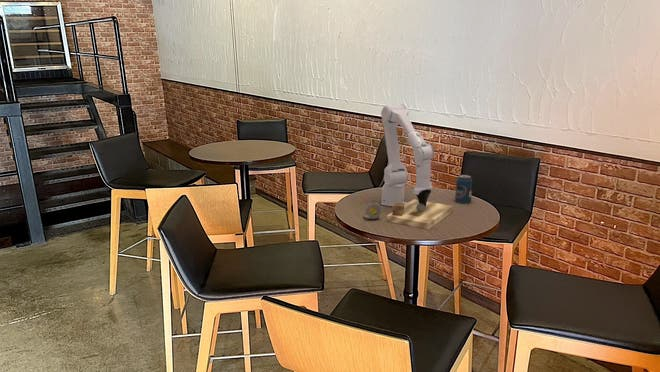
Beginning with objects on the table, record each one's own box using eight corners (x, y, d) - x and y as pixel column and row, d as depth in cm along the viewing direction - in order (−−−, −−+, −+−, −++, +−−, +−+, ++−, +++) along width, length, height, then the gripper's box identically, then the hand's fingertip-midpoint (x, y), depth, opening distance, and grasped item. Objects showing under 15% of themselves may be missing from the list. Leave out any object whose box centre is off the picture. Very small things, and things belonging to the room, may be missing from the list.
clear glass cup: (370, 213, 213) (370, 191, 210) (385, 218, 207) (386, 195, 204) (357, 218, 207) (357, 195, 204) (372, 223, 201) (373, 199, 199)
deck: (386, 221, 203) (387, 215, 203) (413, 204, 224) (413, 199, 223) (428, 229, 194) (428, 223, 193) (452, 211, 215) (452, 205, 214)
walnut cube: (392, 215, 203) (392, 205, 202) (394, 212, 207) (394, 202, 206) (402, 216, 202) (402, 206, 201) (403, 212, 205) (404, 203, 204)
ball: (414, 204, 206) (419, 202, 209) (414, 212, 207) (419, 210, 210) (421, 204, 204) (426, 202, 206) (422, 213, 205) (426, 210, 207)
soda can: (452, 202, 228) (453, 176, 224) (459, 198, 233) (461, 173, 229) (466, 205, 223) (468, 178, 220) (473, 201, 228) (475, 175, 225)
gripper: (425, 180, 196) (424, 213, 200) (439, 172, 208) (438, 204, 211) (408, 178, 200) (408, 210, 204) (423, 170, 212) (422, 201, 215)
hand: (422, 207), depth 208 cm, fingers closed, pressing on ball
